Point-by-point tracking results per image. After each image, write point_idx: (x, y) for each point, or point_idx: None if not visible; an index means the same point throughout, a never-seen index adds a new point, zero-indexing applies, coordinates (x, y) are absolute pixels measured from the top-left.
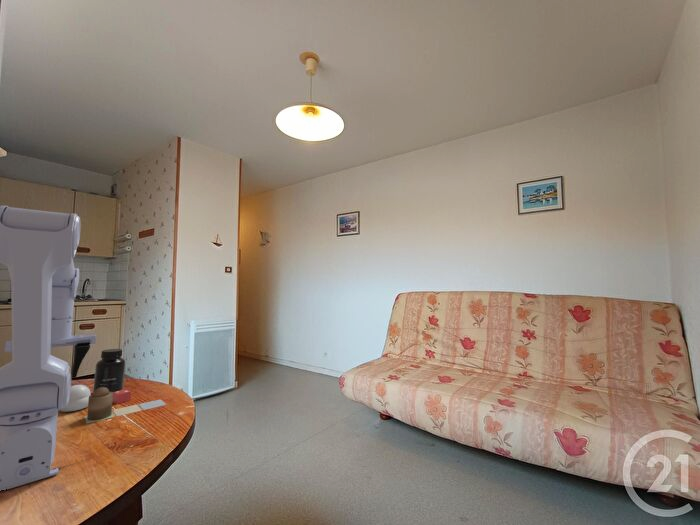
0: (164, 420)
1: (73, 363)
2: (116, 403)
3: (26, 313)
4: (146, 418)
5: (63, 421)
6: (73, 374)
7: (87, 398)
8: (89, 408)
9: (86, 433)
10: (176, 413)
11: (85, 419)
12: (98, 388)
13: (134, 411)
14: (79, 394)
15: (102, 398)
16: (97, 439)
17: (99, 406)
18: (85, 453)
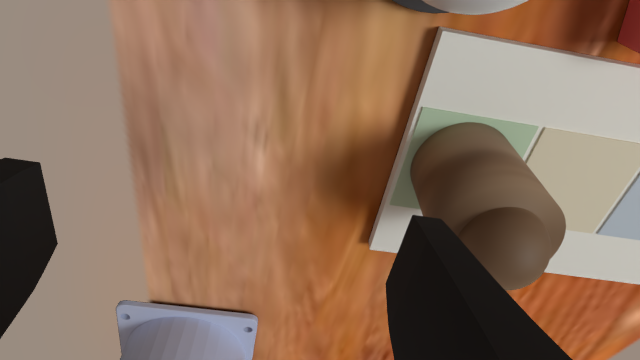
0: (561, 327)
1: (461, 341)
2: (633, 34)
3: None
4: (550, 277)
5: (347, 44)
6: (395, 321)
7: None
8: (421, 211)
9: (361, 252)
10: (630, 308)
11: (405, 158)
12: (500, 273)
13: (570, 222)
14: (478, 11)
15: None
16: (364, 311)
17: None
18: (312, 357)
